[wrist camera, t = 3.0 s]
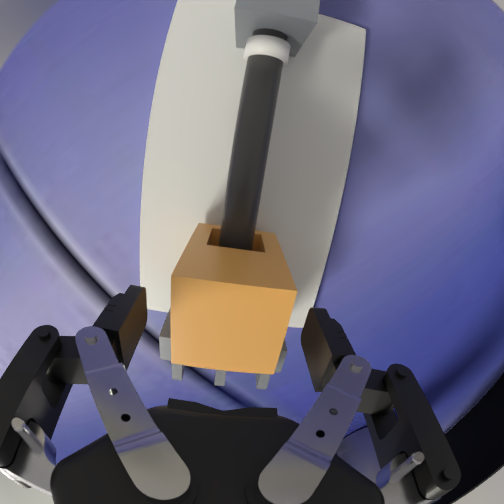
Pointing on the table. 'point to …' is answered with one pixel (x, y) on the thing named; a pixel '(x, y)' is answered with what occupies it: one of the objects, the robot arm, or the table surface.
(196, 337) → the sleeve
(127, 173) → the table surface
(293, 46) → the cord rig
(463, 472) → the laptop
